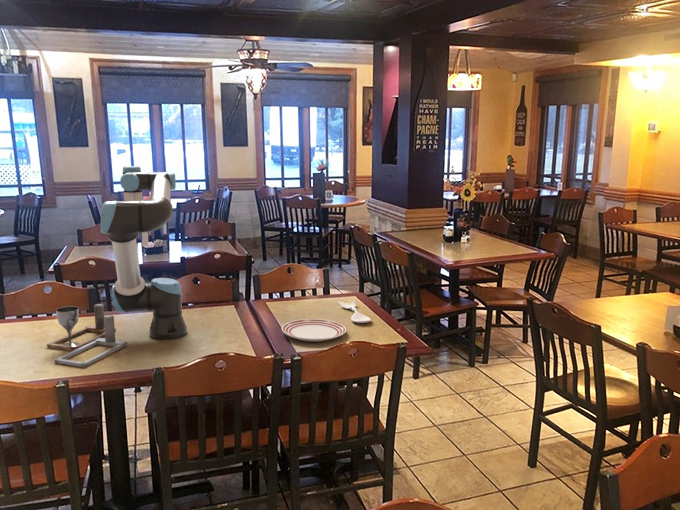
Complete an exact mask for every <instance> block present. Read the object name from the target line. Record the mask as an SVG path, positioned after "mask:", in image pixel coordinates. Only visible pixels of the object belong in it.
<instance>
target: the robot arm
mask: <svg viewBox="0 0 680 510" xmlns="http://www.w3.org/2000/svg"><path fill="white" fill-rule="evenodd" d="M176 182H177V181H176V174H175V173H174V172H169V171H164V172H160V171H159V172H152V171H151V172H142V171H141V167H140V166H137V165H136V166H135V165H133V166H132V165H131V166H129V165H128V166H127V165H126V166H123V167H122V175H121V177H120V181H119V185H120V186H121V188H122V189H123V194H124V195H123V197H124V199H123V201H122V200H111V201H105V202H103V203H102V204H101V211H100V212H101V213H100V233H101V234H104V235H105V236H106V238H107V239H108V240H109V241H110V242H111V245H112V251H113V258H114V264H115V270H116V271H115V272H116V277H117V280H116V281H115V283H114V284H113V285H112V287H111V300H112V301H111V302H112V305H113V308H114V309H115V310H116V312H118V313H125V314H127V313H137V312H152V319H151V323H150V326H149V337H151V338H153V339H158V340H171V339H172V340H173V339H177V338H180V337H183V336H185V335H187V332H188V331H187V330H188V327H187V324H186V322H185V319H184V316H183V307H182V306H183V305H182V294H183V293H182V286H181V282H180V281H178V280H176V279H174V278H168V277H156V278H152V279H151V281H150V282H146V281H145V279H144V278H143V277H142V276H141V270H140V263H139V253H138V252H139V251H138V243H137V238H138V237H139V236H140V233H141V244H142V247H146V248H149V233H151V232H154V231H156V230H159V229H161V228H162V227H164V226H165V225H166V224H167V223H168V222H169V220H170V219H171V217H172V216H173V215H172V214H173V204H172V203H171V191H175V190H176V188H177V187H176V186H177V185H176V184H177V183H176ZM143 191H150V197H149V200H143V199H144V198H143Z"/></svg>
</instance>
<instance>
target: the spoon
mask: <svg viewBox="0 0 680 510" xmlns="http://www.w3.org/2000/svg"><path fill="white" fill-rule="evenodd" d="M337 302H338V304H339V305H340V306H341V307H342V308H343V309H346V310H351V311H353V312H354V313H353V314H352V316H351V317H350V320H351V321H352V322H354V323H358V324H365V323H369V322H372V318H370V317H369V316H367V315H365V314H363V313H360V312H359V311H358V308H357V307H356V306H357V302H356V300H355V299H354V300H351V301H349V302H348V301H347V302H346V303H345V301H343V302H342V301H340V300H338V301H337Z"/></svg>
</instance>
